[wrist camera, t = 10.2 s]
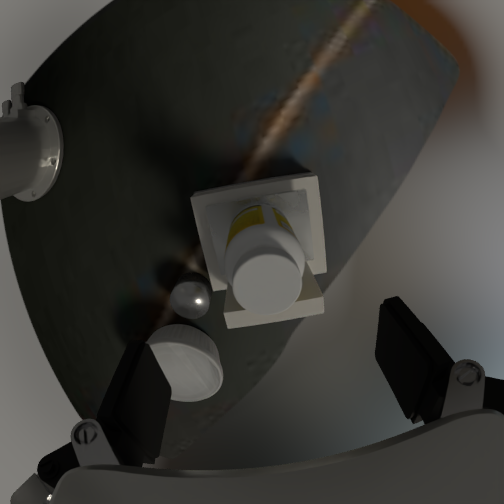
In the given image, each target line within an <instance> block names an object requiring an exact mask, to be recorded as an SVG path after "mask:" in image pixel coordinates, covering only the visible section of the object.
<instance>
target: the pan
mask: <svg viewBox="0 0 504 504" xmlns="http://www.w3.org/2000/svg"><path fill="white" fill-rule="evenodd" d="M256 204H265V205H269V206H272V207H274V208H276V209H278V210H279V211H281V212H282V213H283V214H284V216H285V217H286V218H287V220H288V221H289V223H290V225H291V227H292V229H293V231H294V233H295V235H296V237H297V239H298V241H299V243H300V244H301V247H302V250H303V253H304V257H305V261H310V260H314V253H313V243H312V233H311V224H310V216H309V207H308V200H307V192H306V189H305V188H304V189H297V190H290V191H284V192H278V193H271V194H265V195H259V196H254V197H248V198H242V199H237V200H231V201H226V202H221V203H215V204H210V205H206V207H205V208H206V213H207V217H208V222H209V226H210V230H211V235H212V239H213V243H214V248H215V252H216V256H217V260H218V264H219V269H220V273H221V275H225V271H224V256H225V250H226V244H227V239H228V234H229V229H230V226H231V223H232V221H233V219H234V218H235V216H236V215H237V214H238V213H239V212H240V211H241V210H243V209H244V208H246V207H248V206H251V205H256Z"/></svg>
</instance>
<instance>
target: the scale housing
mask: <svg viewBox="0 0 504 504" xmlns="http://www.w3.org/2000/svg"><path fill="white" fill-rule="evenodd" d="M304 188H305V189H306V192H307V200H308V207H309V216H310V224H311V233H312V243H313V253H314V260H310V261H305V267H304V272H303V275H302V288H301V292H300V295H299V297H298V298H297V300H296V301H295V303H294V304H293V305H292V306H291V307H289V308H288V309H286V310H285V311H283V312H280V313H277V314H273V315H258V314H254V313H252V312H250V311H248V310H246V309H245V308H243V307H242V306H241V305H240V304H239V303H238V302H237V300H236V298H235V296H234V294H233V290H232V286H231V285H230V283H229V282H228V280H227V278H226V275H221V273H220V269H219V264H218V260H217V256H216V252H215V248H214V243H213V239H212V235H211V230H210V226H209V222H208V217H207V213H206V208H205V207H206V205H210V204H215V203H221V202H226V201H231V200H237V199H242V198H248V197H254V196H259V195H265V194H271V193H278V192H284V191H290V190H297V189H304ZM190 199H191V203H192V208H193V212H194V216H195V221H196V225H197V229H198V233H199V237H200V241H201V245H202V249H203V253H204V257H205V261H206V265H207V269H208V273H209V277H210V280H211V284H212V288H213V291H218V290H224V289H227V292H226V299H225V307H224V316H225V320H226V323H227V327H228V329H230V328H237V327H245V326H252V325H258V324H265V323H271V322H277V321H283V320H289V319H295V318H300V317H306V316H311V315H316V314H321V313H324V298H323V295H322V292H321V290H320V288H319V286H318V284H317V282H316V280H315V278H314V274H320V273H325V272H327V268H326V254H325V242H324V231H323V221H322V211H321V202H320V194H319V185H318V178H317V175H314V174H312V172H306V173H298V174H291V175H285V176H278V177H272V178H265V179H259V180H254V181H248V182H242V183H237V184H231V185H226V186H221V187H216V188H211V189H206V190H201V191H196V192H194V195H193V196H192V197H190Z"/></svg>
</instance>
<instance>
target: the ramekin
mask: <svg viewBox="0 0 504 504" xmlns="http://www.w3.org/2000/svg"><path fill="white" fill-rule="evenodd" d="M146 343H148V344H149V345H150V347H151V349H152V351H153V353H154V355H155V357H156V359H157V361H158V363H159V365H160V367H161V369H162V371H163V373H164V375H165V376H166V378H167V380H168V382H169V384H170V386H171V389H172V395H171V399H173V400H177V401H186V402H191V401H199V400H203V399H206V398H209V397H211V396H212V395H214V394H215V393H216V392H217V391H218V390H219V388H220V387H221V385H222V381H223V370H222V367H221V364H220V360H219V354H218V350H217V347H216V345H215V343H214V342H213V340H212V339H211V338H210V337H209V336H207V335H206V334H205V333H204V332H202V331H200V330H199V329H197V328H194V327H192V326H189V325H183V324H173V325H167V326H164V327H161V328H160V329H158V330H156V331H155V332H154V333H153V334H152V335H151V337H150V338H149V339H148V341H147V342H146Z"/></svg>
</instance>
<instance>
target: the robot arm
mask: <svg viewBox="0 0 504 504" xmlns="http://www.w3.org/2000/svg"><path fill="white" fill-rule="evenodd" d="M24 95H25V93H24V83H23V82H19V83H16V84H14V85H13V86H12V87H11V99H12V108H11V100H7V101H5V102H3V103H2V110H3V117H0V200H1V199H3V198H6V197H9V196H12V195H13V196H15V197H16V198H17V199H19V200H22V201H28V202H29V201H34V200H36V199H39V198H41V197H42V196H44V195H45V194H46V193H47V192H48V191H49V190H50V189H51V188H52V186H53V185H54V183H55V181H56V179H57V177H58V174H59V172H60V168H61V165H62V159H63V147H64V143H63V134H62V129H61V126H60V123H59V121H58V119H57V117H56V116H55V114H54V113H53V112H52V111H51V110H50V109H48V108H46V107H44V106H38V105H33V106H28V107H27V103H24ZM375 357H376V360H377V362H378V364H379V366H380V368H381V370H382V372H383V374H384V375H385V377H386V379H387V381H388V383H389V385H390V387H391V389H392V391H393V393H394V395H395V397H396V398H397V401H398V403H399V405H400V407H401V409H402V411H403V413H404V415H405V417H406V418H407V419H411V421H412V423H413V424H415V423H418V422H420V421H422V420H423V421H424V424H425V425H423V426H420V427H418V428H416V429H413V430H410V431H408V432H405V433H402V434H400V435H397V436H395V437H392V438H389V439H386V440H383V441H380V442H377V443H374V444H371V445H368V446H365V447H361V448H358V449H354V450H350V451H347V452H343V453H339V454H335V455H331V456H327V457H323V458H318V459H313V460H308V461H302V462H297V463H290V464H284V465H277V466H269V467H260V468H250V469H237V470H236V469H235V470H171V469H155V468H144V467H142V465H143V463H148V464H154V463H155V458H157V457H159V454H160V448H161V443H162V438H163V433H164V428H165V423H166V418H167V414H168V409H169V404H170V400H171V395H172V389H171V386H170V384H169V382H168V380H167V378H166V376H165V375H164V373H163V371H162V369H161V367H160V365H159V363H158V361H157V359H156V357H155V355H154V353H153V351H152V349H151V347H150V345H149V344H148V343H145V342H144V341H143V340H138V341H130V342H129V343H128V345H127V347H126V350H125V352H124V354H123V356H122V358H121V360H120V363H119V365H118V367H117V369H116V371H115V374H114V376H113V378H112V380H111V383H110V385H109V387H108V390H107V392H106V394H105V397H104V399H103V401H102V404H101V406H100V409H99V411H98V414H97V416H98V417H97V419H96V421H95V420H93V419H85V420H82V421H80V422H79V423H77V424H76V425H75V426H74V428H73V429H72V431H71V442H70V443H68V444H66V445H64V446H62V447H61V448H59V449H57V450H55V451H54V452H52V453H50V454H48V455H46V456H45V457H43V458H42V459H41V460H40V462H39V464H38V468H37V472H38V474H37V475H36V474H35V473H34V474H33V475H32V476H31V477H30V478H29V479H28V480H27V481H26V482H25V483H24V484H22V486H21V487H20V488H19V489H17V490H16V491H15V492H14V493H13V495H12V497H11V500H10V501H11V504H504V380H500V379H496V378H491V377H486V376H485V371H484V369H483V367H482V366H481V365H480V364H479V363H477V362H476V361H473V360H469V359H467V360H466V359H464V360H460V361H458V362H456V363H455V362H454V361H453V360H452V358H451V357H450V356H449V355H448V353H447V352H446V351H445V350H444V348H443V347H442V346H441V344H440V343H439V342H438V341H437V339H436V338H435V337H434V336H433V335H432V333H431V332H430V331H429V330H428V329H427V327H426V326H425V325H424V324H423V323H421V322H420V321H419V319H418V318H417V317H416V316H415V315H414V314H413V312H412V311H411V310H410V309H409V308H408V307H407V305H406V304H405V303H404V302H403V301H402V300H401V299H400V298H399V297H398V296H395V297H392V298H388V299H385V300H384V302H383V304H381V305H380V311H379V322H378V332H377V340H376V348H375Z"/></svg>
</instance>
